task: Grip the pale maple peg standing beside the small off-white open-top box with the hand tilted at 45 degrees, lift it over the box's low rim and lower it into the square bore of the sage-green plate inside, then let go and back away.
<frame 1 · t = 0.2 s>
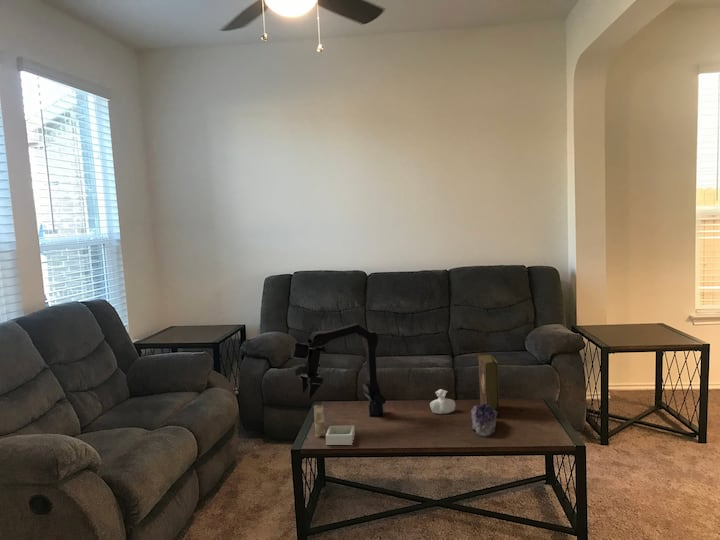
hand: (306, 395, 237), 15 cm above the table, fingers open, 9 cm apart
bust: (442, 412, 251), on the table
book: (489, 411, 248), on the table
bore box: (340, 440, 223), on the table
peg: (320, 435, 230), on the table
geode: (485, 429, 228), on the table
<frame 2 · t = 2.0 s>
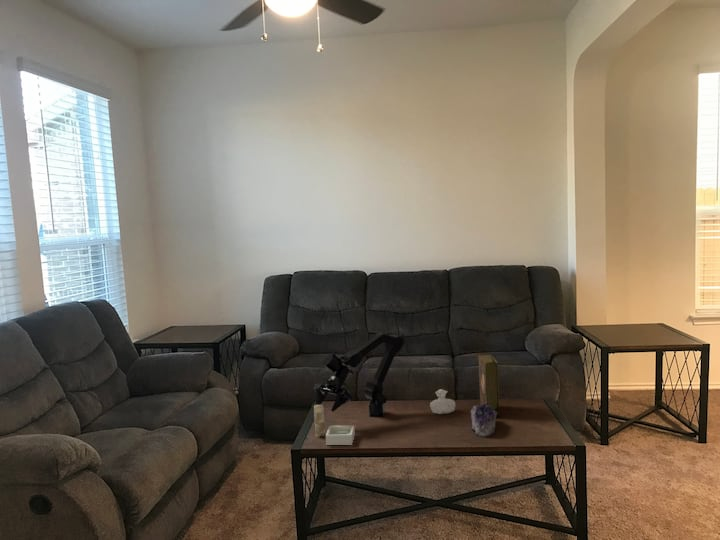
hand: (324, 409, 231), 10 cm above the table, fingers open, 9 cm apart
nothing on the table moved.
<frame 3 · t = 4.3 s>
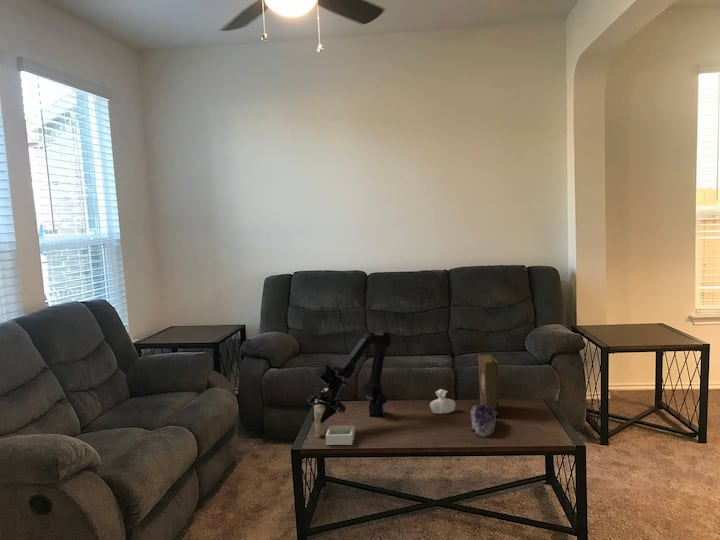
hand: (317, 421, 228), 7 cm above the table, fingers closed on peg, 4 cm apart
peg: (320, 435, 230), on the table, touching gripper
everything else where it was.
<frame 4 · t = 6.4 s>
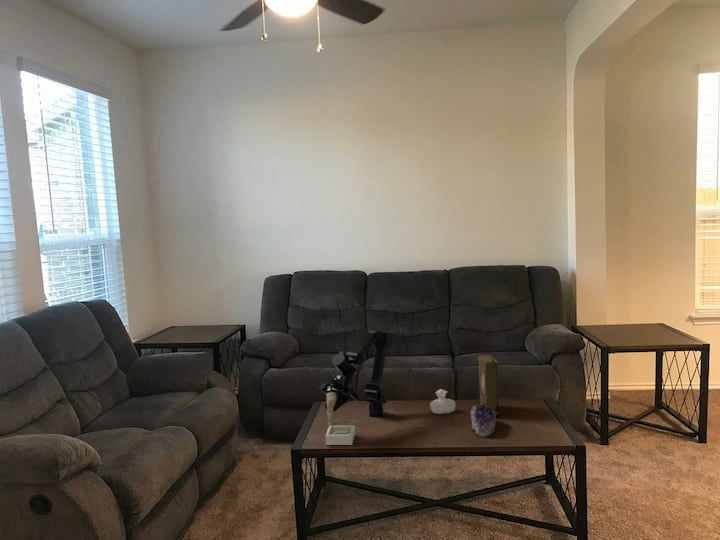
hand: (329, 409, 223), 13 cm above the table, fingers closed on peg, 4 cm apart
peg: (332, 424, 225), point 6 cm above the table, touching gripper
everything else where it was.
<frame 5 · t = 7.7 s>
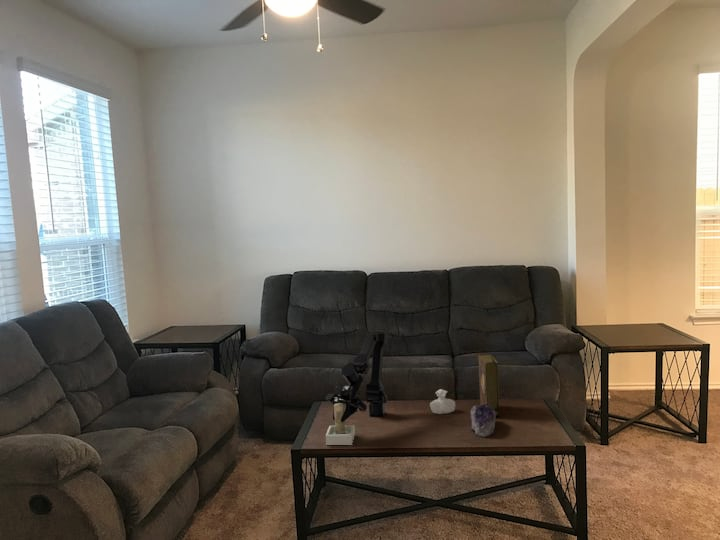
hand: (337, 420, 221), 9 cm above the table, fingers closed on peg, 4 cm apart
peg: (340, 435, 223), point 2 cm above the table, touching gripper
everything else where it was.
when the fingers open (7 cm above the table, at t = 8.8 s): peg stays where it is, resting in bore box.
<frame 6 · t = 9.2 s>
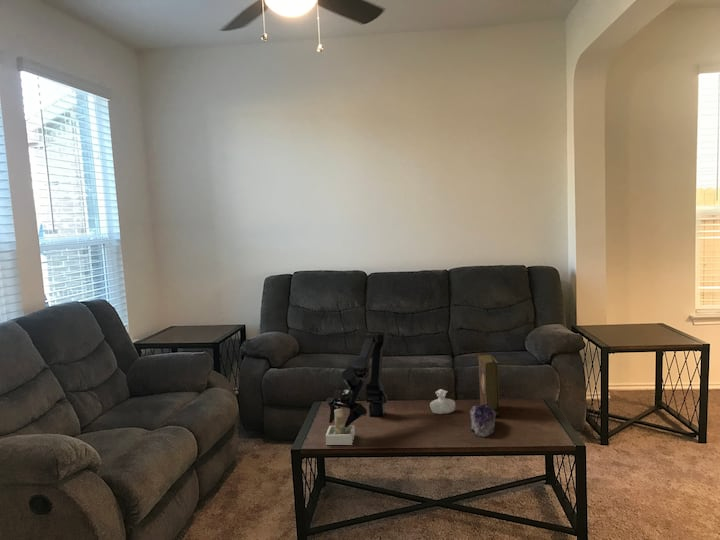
hand: (337, 424, 221), 7 cm above the table, fingers open, 8 cm apart
peg: (340, 440, 223), resting in bore box
everything else where it was.
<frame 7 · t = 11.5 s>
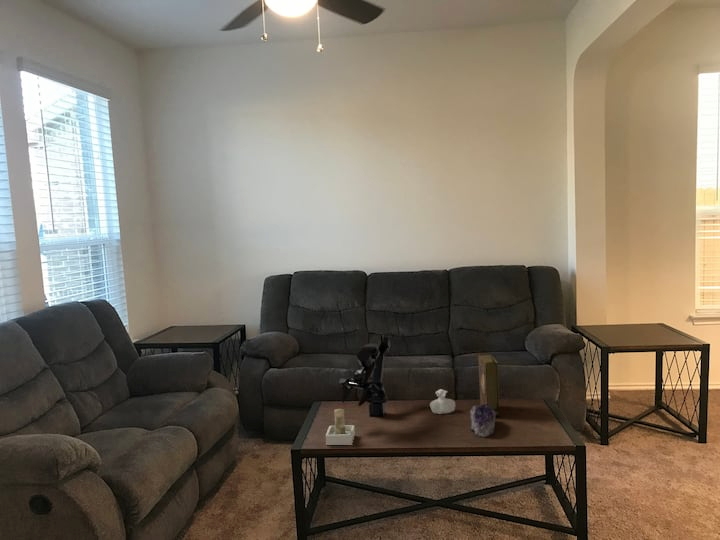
hand: (350, 403, 228), 13 cm above the table, fingers open, 9 cm apart
nothing on the table moved.
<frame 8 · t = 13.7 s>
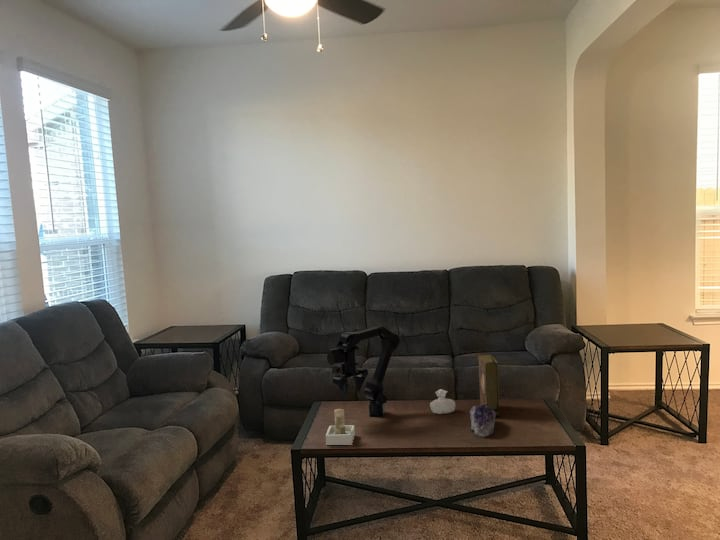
hand: (351, 394, 242), 13 cm above the table, fingers open, 9 cm apart
nothing on the table moved.
at the end: peg 0.1 cm off-centre on the bore box, point 0.0 cm above the bore box's base; peg tilted 0°; the gripper is holding nothing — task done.
